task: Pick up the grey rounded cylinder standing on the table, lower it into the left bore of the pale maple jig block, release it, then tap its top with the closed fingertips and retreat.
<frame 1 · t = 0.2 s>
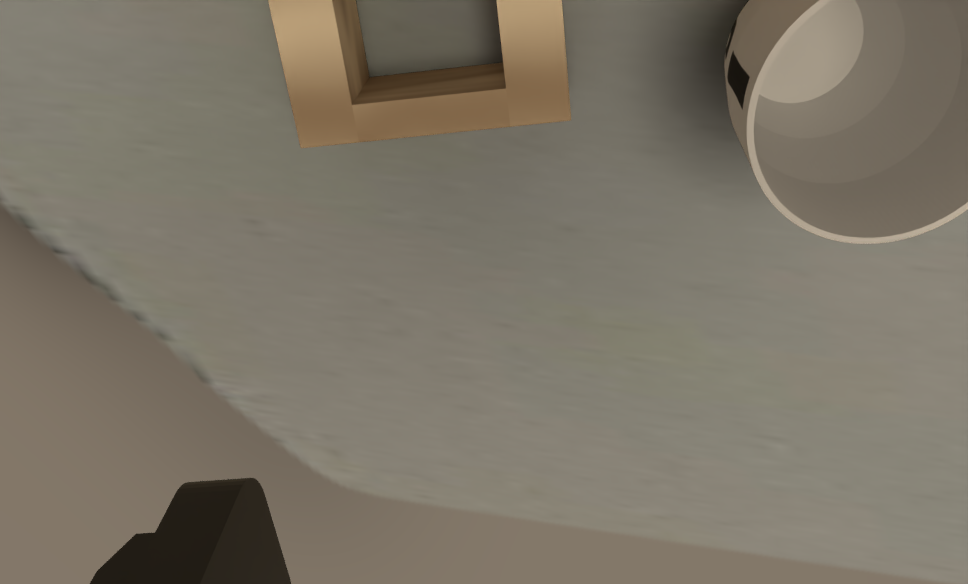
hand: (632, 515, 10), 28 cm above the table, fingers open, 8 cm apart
cup: (797, 39, 35), on the table
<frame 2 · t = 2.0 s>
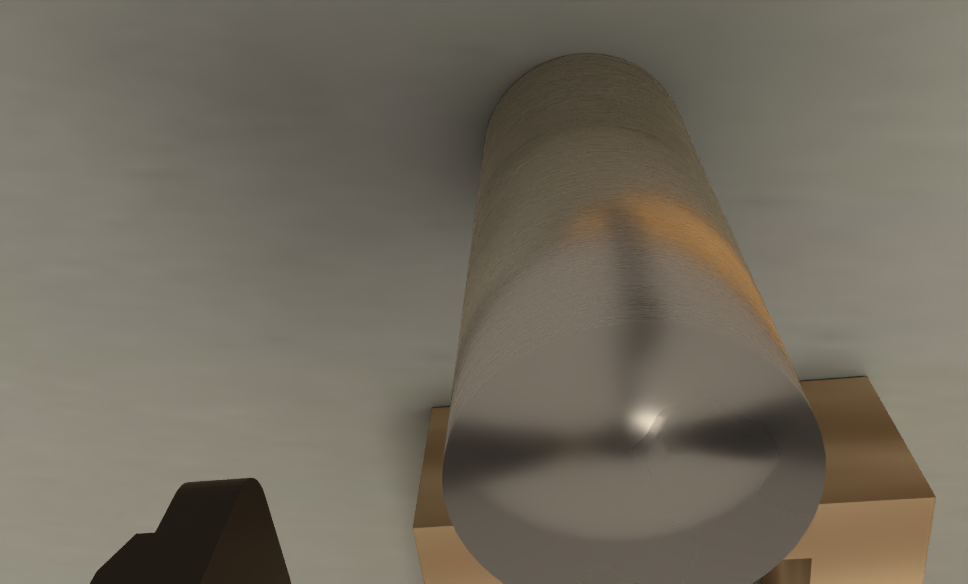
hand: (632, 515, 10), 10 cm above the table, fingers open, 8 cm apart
grey rounded cylinder: (583, 152, 18), on the table
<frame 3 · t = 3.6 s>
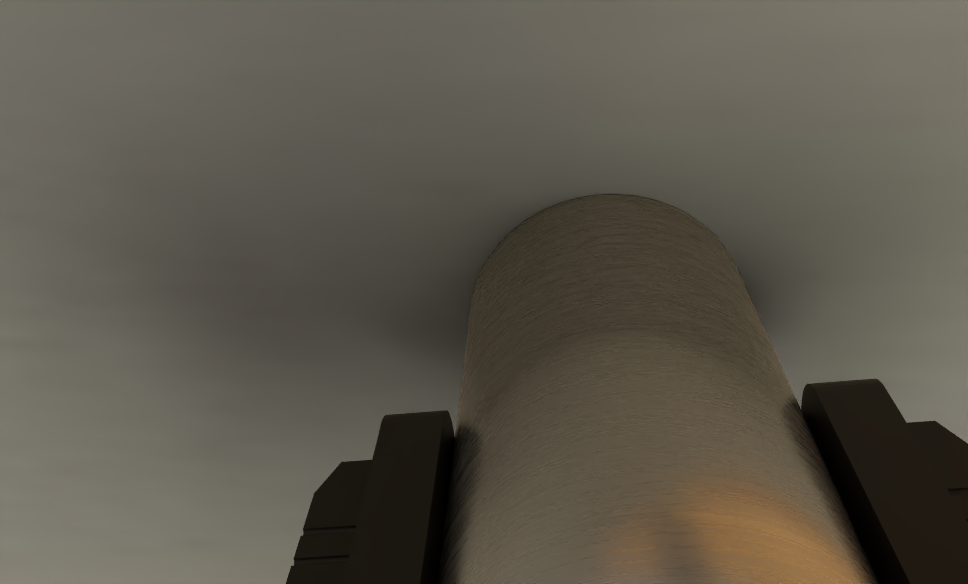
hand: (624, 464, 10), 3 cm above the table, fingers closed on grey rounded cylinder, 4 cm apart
grey rounded cylinder: (606, 321, 13), on the table, touching gripper
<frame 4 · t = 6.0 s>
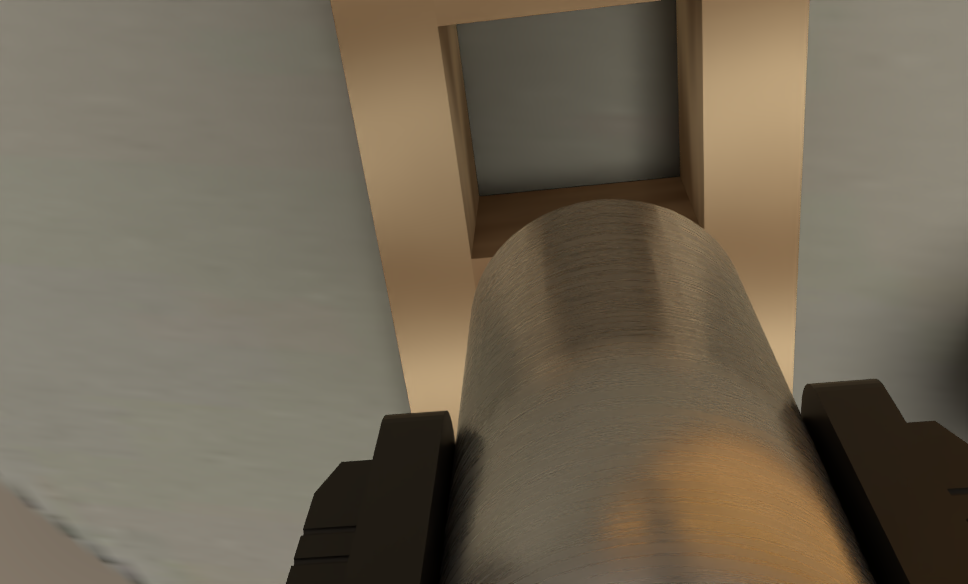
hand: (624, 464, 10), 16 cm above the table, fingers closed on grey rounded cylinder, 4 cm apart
jig: (579, 203, 26), on the table
grey rounded cylinder: (606, 325, 13), point 12 cm above the table, touching gripper
when the fingers open (5 cm above the table, at t = 8.3 s): grey rounded cylinder drops 2 cm, resting in jig.
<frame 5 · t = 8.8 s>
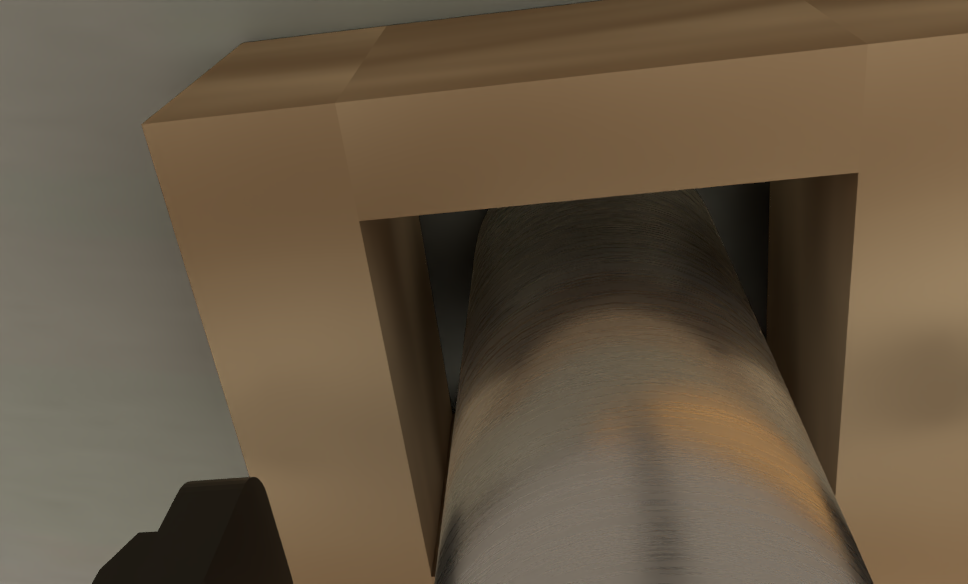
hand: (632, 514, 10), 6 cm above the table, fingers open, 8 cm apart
jig: (607, 425, 17), on the table
grey rounded cylinder: (595, 262, 15), resting in jig
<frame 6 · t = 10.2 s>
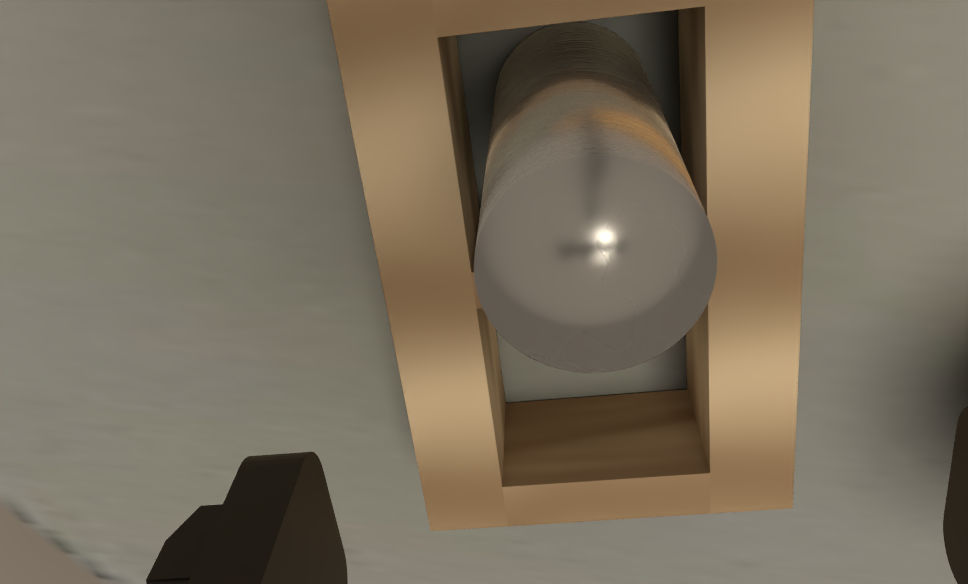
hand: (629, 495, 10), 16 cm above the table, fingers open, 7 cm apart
jig: (581, 215, 25), on the table
grey rounded cylinder: (571, 99, 24), resting in jig
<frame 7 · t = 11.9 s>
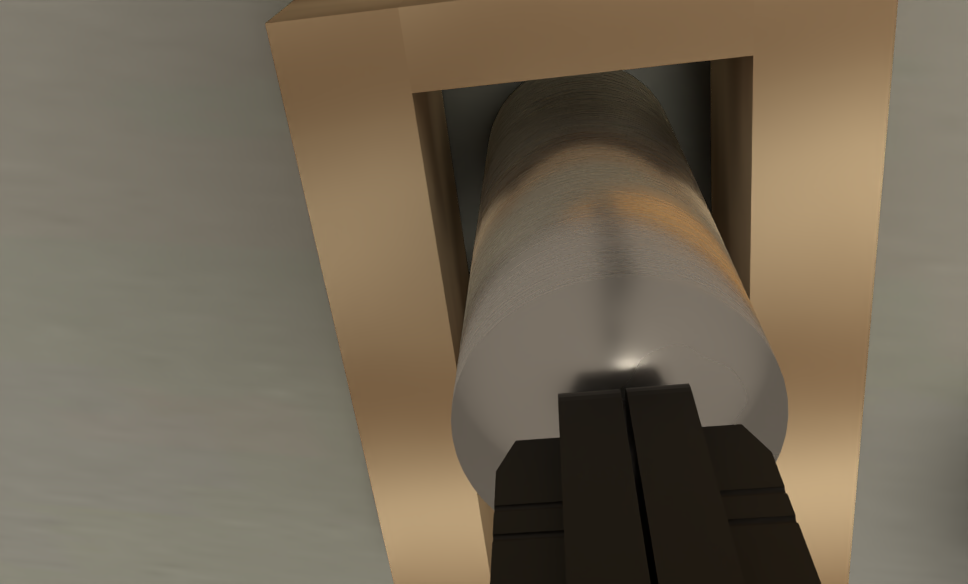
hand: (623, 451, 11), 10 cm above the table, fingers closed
jig: (590, 288, 21), on the table
grey rounded cylinder: (579, 154, 20), resting in jig
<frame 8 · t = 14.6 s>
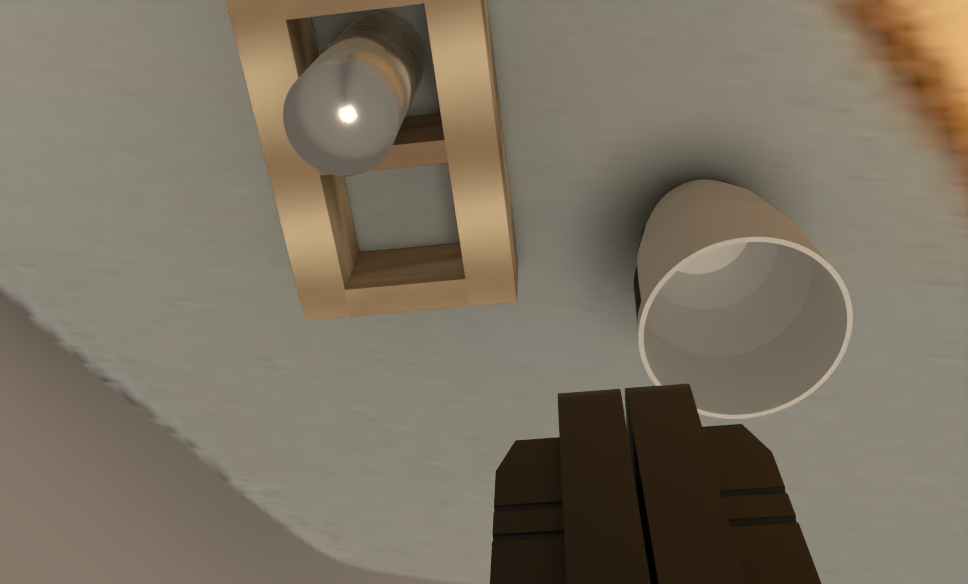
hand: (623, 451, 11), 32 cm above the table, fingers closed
jig: (393, 128, 42), on the table
cup: (700, 226, 44), on the table
grey rounded cylinder: (381, 58, 41), resting in jig
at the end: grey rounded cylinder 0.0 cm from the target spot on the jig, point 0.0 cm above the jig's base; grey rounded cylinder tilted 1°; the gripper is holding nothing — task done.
